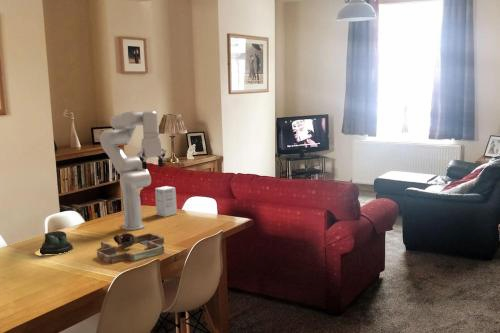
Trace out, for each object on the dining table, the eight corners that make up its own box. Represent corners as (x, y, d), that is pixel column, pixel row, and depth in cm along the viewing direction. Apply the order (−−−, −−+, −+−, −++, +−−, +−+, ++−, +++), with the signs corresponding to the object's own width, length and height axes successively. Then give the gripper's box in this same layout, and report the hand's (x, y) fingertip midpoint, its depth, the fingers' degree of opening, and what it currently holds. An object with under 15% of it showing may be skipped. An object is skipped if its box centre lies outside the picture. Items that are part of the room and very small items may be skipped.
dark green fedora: (85, 248, 259) (84, 230, 257) (51, 260, 242) (49, 241, 241) (60, 242, 270) (59, 225, 268) (26, 253, 253) (24, 235, 252)
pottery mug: (139, 245, 263) (139, 233, 258) (130, 258, 256) (130, 247, 250) (117, 238, 265) (116, 227, 260) (108, 251, 257) (107, 240, 252)
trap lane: (84, 251, 252) (84, 245, 252) (146, 236, 276) (145, 230, 275) (115, 266, 231) (114, 260, 230) (179, 248, 254) (178, 242, 253)
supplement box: (177, 214, 322) (176, 187, 319) (165, 216, 315) (164, 189, 313) (167, 211, 329) (166, 185, 326) (156, 214, 322) (154, 188, 319)
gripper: (160, 133, 277) (162, 165, 279) (132, 136, 265) (134, 169, 268) (168, 134, 271) (170, 166, 274) (140, 137, 259) (142, 170, 262)
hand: (152, 167), depth 271 cm, fingers open, 9 cm apart
